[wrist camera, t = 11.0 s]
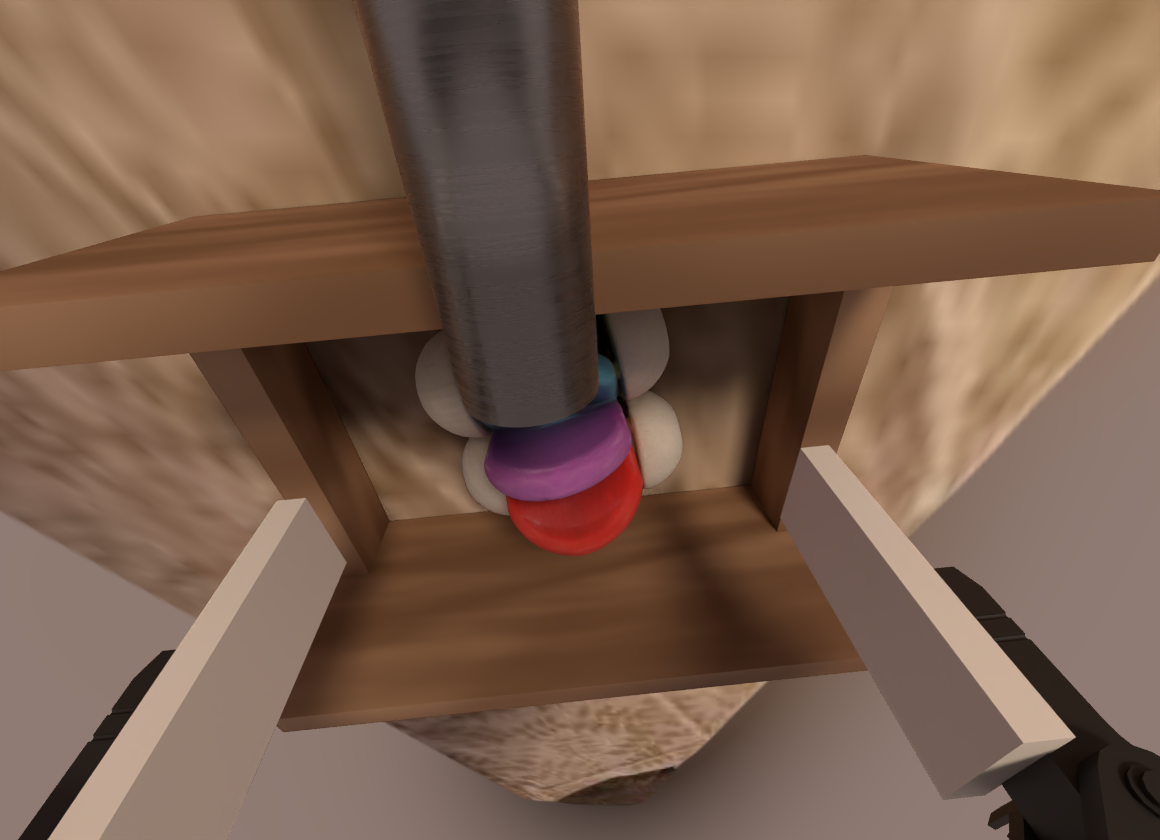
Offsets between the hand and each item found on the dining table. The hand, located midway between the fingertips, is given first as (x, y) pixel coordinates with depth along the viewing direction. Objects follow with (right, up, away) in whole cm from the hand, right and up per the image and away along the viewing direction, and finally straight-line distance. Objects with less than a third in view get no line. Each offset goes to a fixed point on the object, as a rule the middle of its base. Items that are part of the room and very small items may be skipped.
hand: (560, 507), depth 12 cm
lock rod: (-1, +12, -10) cm, 15 cm away
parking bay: (0, +4, +6) cm, 7 cm away
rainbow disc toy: (0, +4, +6) cm, 7 cm away
